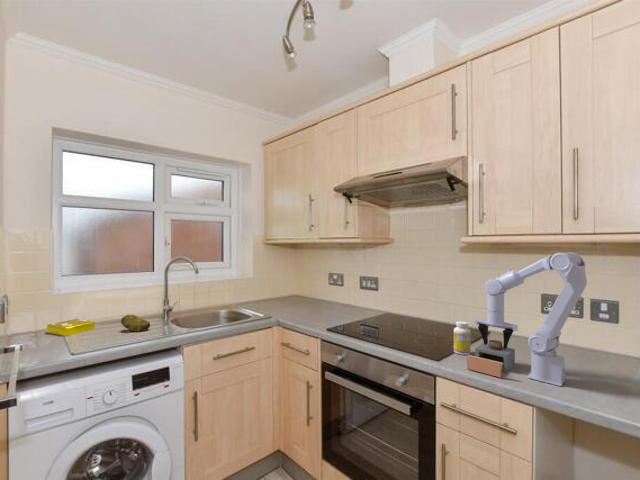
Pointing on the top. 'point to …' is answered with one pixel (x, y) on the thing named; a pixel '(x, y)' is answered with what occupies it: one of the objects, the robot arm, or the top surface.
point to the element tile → (70, 327)
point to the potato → (135, 323)
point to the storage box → (497, 355)
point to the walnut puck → (495, 345)
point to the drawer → (484, 365)
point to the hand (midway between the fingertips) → (495, 346)
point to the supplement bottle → (462, 338)
